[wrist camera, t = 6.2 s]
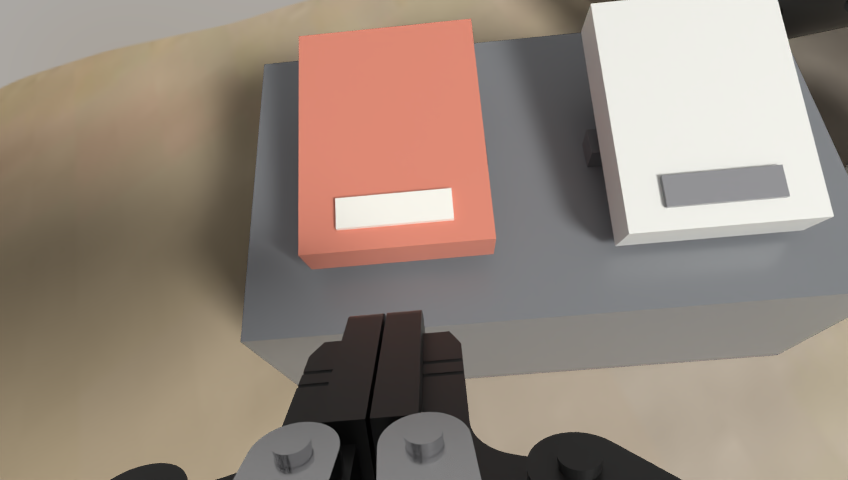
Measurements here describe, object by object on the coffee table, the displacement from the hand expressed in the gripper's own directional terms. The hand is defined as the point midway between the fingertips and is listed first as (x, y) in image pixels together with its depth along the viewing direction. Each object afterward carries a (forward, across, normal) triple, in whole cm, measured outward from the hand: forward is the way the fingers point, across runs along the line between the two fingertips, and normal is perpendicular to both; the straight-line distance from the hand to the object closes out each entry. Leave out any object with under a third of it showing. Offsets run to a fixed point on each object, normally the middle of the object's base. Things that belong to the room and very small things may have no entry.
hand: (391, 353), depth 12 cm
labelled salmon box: (+10, 0, -2) cm, 10 cm away
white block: (+10, -10, -2) cm, 14 cm away
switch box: (+16, -5, +4) cm, 17 cm away
